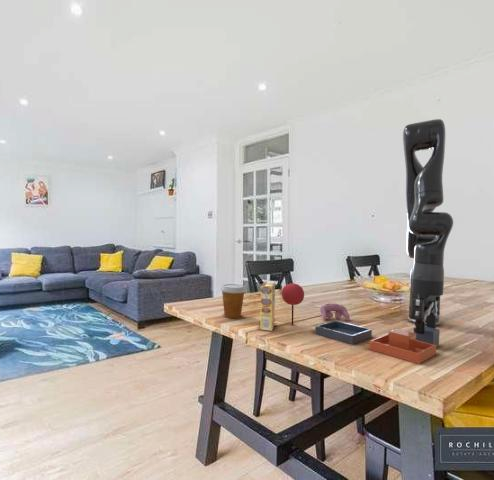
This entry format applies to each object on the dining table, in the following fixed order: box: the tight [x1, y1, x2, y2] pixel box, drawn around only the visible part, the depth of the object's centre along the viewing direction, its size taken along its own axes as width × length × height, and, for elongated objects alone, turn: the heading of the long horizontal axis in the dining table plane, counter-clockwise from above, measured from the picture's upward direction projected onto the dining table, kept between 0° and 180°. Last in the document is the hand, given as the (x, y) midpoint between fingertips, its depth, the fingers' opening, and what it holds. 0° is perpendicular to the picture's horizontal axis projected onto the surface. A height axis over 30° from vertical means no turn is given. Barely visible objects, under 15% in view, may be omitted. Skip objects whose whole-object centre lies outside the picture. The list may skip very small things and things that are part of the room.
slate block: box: [413, 325, 440, 348], centre depth 100 cm, size 5×5×5 cm
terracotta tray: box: [368, 333, 437, 365], centre depth 94 cm, size 12×12×3 cm
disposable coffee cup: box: [220, 283, 246, 319], centre depth 129 cm, size 10×10×12 cm
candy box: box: [259, 281, 276, 332], centre depth 115 cm, size 9×4×15 cm, turn 159°
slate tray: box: [314, 320, 373, 345], centre depth 108 cm, size 12×12×3 cm
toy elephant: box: [319, 302, 350, 322], centre depth 128 cm, size 10×5×7 cm, turn 84°
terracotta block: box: [388, 328, 416, 352], centre depth 94 cm, size 5×5×5 cm
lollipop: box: [281, 283, 305, 326], centre depth 119 cm, size 8×8×15 cm
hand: (425, 331), depth 100 cm, fingers open, 8 cm apart
